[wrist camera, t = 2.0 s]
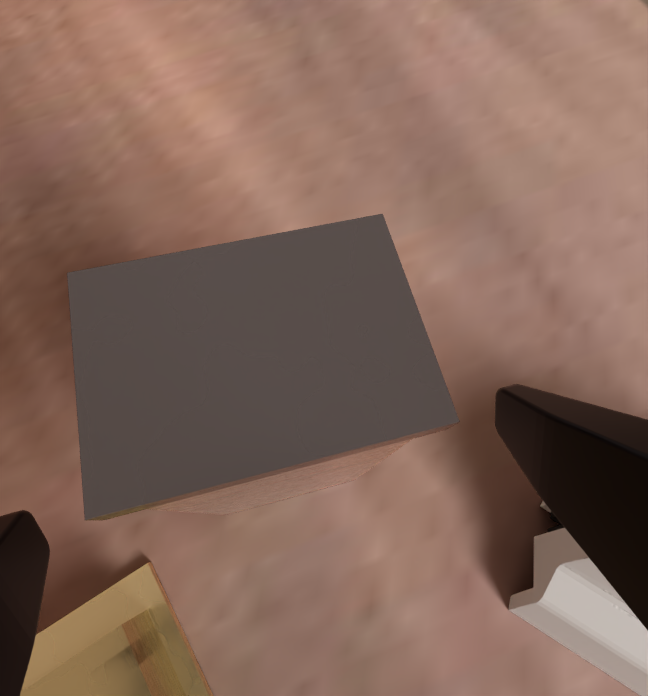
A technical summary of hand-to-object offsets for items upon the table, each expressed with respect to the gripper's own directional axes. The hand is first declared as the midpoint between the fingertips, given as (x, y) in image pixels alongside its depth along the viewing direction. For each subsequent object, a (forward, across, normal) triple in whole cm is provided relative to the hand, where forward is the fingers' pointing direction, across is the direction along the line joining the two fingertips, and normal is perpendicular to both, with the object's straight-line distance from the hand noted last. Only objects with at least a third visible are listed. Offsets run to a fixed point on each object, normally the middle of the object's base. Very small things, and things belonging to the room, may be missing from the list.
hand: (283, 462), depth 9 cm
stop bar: (+8, 0, +6) cm, 9 cm away
